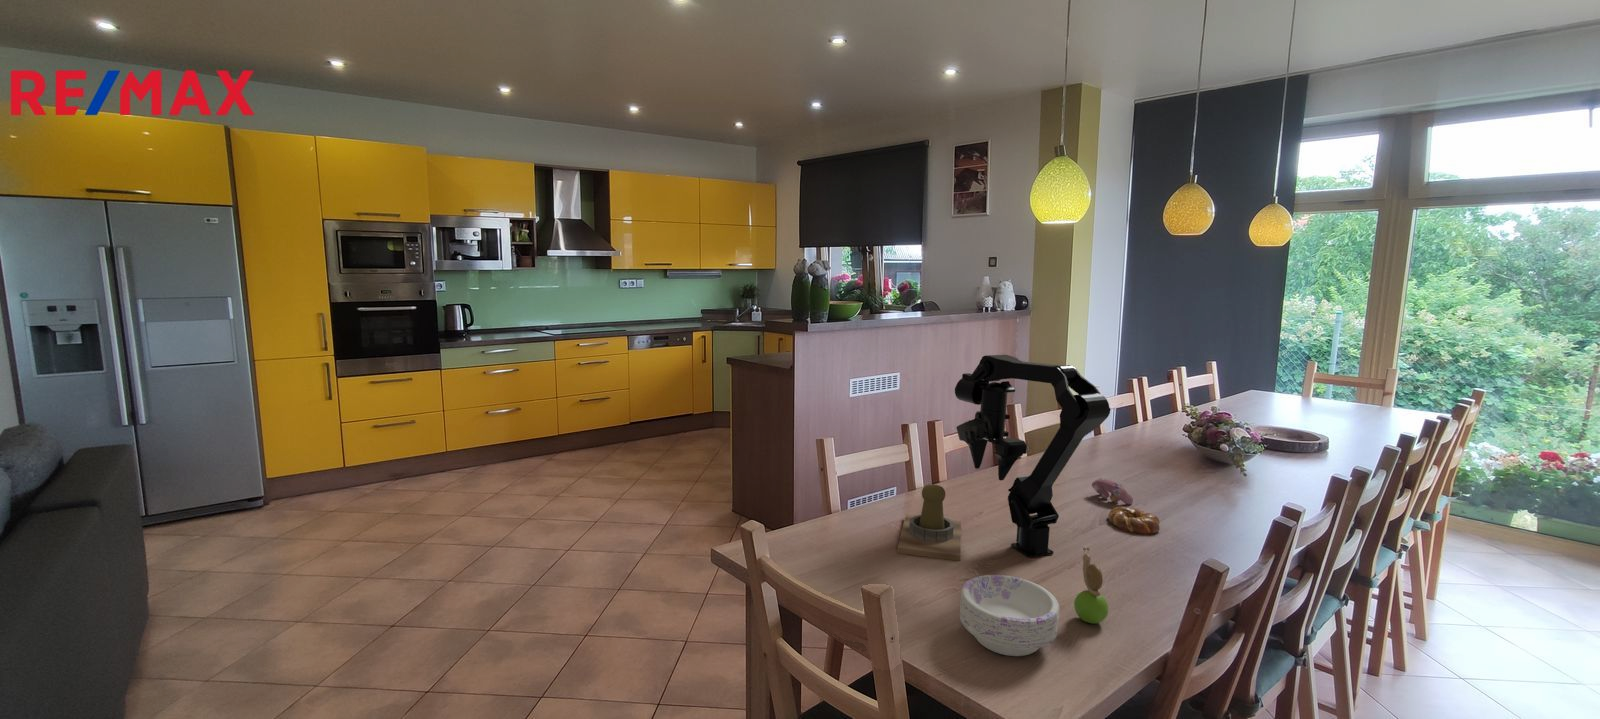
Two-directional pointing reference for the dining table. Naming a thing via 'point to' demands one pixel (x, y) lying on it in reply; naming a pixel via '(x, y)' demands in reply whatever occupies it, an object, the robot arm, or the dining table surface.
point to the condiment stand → (930, 539)
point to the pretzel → (1134, 520)
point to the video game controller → (1112, 491)
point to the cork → (932, 507)
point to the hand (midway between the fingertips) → (988, 474)
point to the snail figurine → (1091, 594)
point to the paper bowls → (1009, 614)
